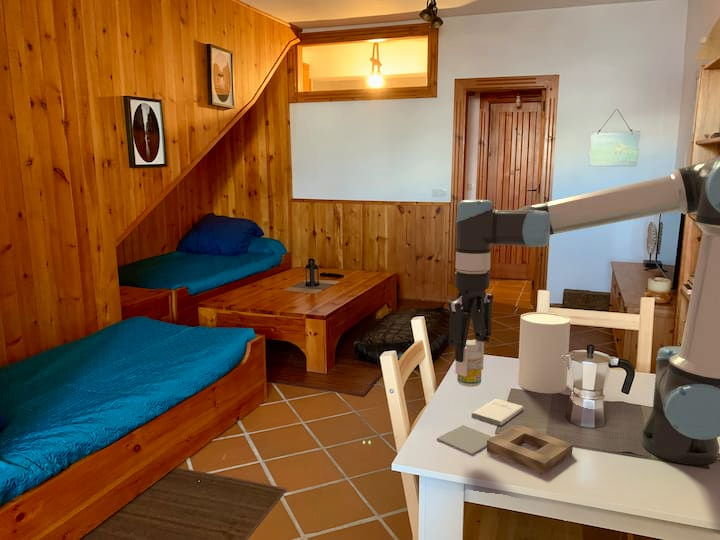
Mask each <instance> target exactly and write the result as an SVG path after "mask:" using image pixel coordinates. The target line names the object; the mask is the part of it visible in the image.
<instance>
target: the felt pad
mask: <svg viewBox="0 0 720 540" xmlns="http://www.w3.org/2000/svg"><path fill="white" fill-rule="evenodd" d="M492 437H493V435H492V436H491V435H489V434H487V433H485V432H481V431H480V430H476V429H474V428H471V427H469V426H467V425H464V424H462V425H460V426H458V427H455V428H454V429H452V430H451V431H448V432H447V433H444V434H442V435H440V436H438V437H437V438H436V440H437V441H438V442H441V443H443V444H445V445H448V446H450V447H452V448H454V449H457V450H459V451H461V452H464V453H466V454H469V456H470V455H471V456H473V455H476V454H477V453H478V452H481V451H482V450H484V449H485V448H486V449H487V440H488V439H490V438H492Z"/></svg>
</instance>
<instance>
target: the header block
mask: <svg viewBox="0 0 720 540" xmlns="http://www.w3.org/2000/svg"><path fill="white" fill-rule="evenodd" d="M523 444H524V445H527V446H530V447H533V448H536V449H537V450H535V451H533V450H531V449H528V448H526V447H523V446H522V445H523ZM573 445H574V444H573V443H570V442H568V441H565V440H562V439H559V438H557V437H553V436H550V435H548V434H545V433H542V432H540V431H537V430H535V429H532V428H529V427H526V426H523V425H520V424H517V423H515V424H513V425H511V426H510V427H508V428H507V429H504V430H503V431H501V432H499V433H498V434H496V435H494V436H492V438H490V439H488V440H487V447H486V452H488V453H491V454H494V455H496V456H498V457H501V458H503V459H504V460H505V459H506V460H508V461H509V462H512V463H514V464H518V465H520V466H522V467H524V468H527V469H529V470H532V471H534V472H536V473H538V474H541V475H546V474H547V473H549V472H550V471H551V470H553V469H554V468H556V467H557V466H559V465H560V464H562V463H563V462H564V461H565V460H567V459H568V458H570V457H571V456H572V455H573V449H574V448H573Z"/></svg>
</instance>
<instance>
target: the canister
mask: <svg viewBox="0 0 720 540" xmlns="http://www.w3.org/2000/svg"><path fill="white" fill-rule="evenodd" d="M519 320H520V322H519V323H520V324H519V325H520V326H519V345H518V348H519V349H518V372H517V373H518V374H517V384H518V385H519V387H521V388H523V389H524V390H527V391H530V392H533V393H540V394H558V393H562V392H564V391H565V390H566V389H567V382H568V368H567V365H566V363H565V362H564V360H563V359H562V357H561V356H562V355H564V354H567V353H568V354H569V349H570V335H571V334H570V333H571V332H570V330H571V318H570V317H568V316H566V315H563V314H559V313H553V312H548V311H546V312H545V311H544V312H543V311H538V312H537V311H535V312H534V311H533V312H527V313H523V314H521V315H520V319H519Z"/></svg>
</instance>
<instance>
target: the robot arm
mask: <svg viewBox="0 0 720 540" xmlns="http://www.w3.org/2000/svg"><path fill="white" fill-rule="evenodd" d="M456 209H457V210H456V220H455V230H456V231H455V263H454V264H455V269H456V271H455V272H454V287H455V288H456V289H457V290H458V294H457V296H456V300H455V301H449V302H448V304H447V305H448V311H449V321H448V324H449V326H448V345H449V346H452V347H454V361H455V370H454V371H455V372H454V373H455V375H457V374H459V375H462V376H467V367H468V348H467V347H465V346H466V341H467V340H468V335H469V330H470V327H471V326H470V324H471V320H472V328H473V334H474V339H473V340H474V341H477V342H479V349H478V350H479V351H480V352H481V354H482V370H484V360H485V359H484V358H485V355H484V353H485V342H487V343H488V342H489V341H490V337H491V336H492V308H493V307H492V306H493V301H494V294H490V293H486V290H488V289H489V288H490V281H491V280H490V278H491V277H490V276H491V275H490V274H491V273H490V269H491V255H492V254H491V251H492V250H491V248H492V247H491V246H492V245H493V246H494V245H495V246H498V245H499V246H500V245H501V246H515V247H517V246H518V247H528V248H534V247H546V246H548V244H549V242H550V236H552V235H557V234H561V233H567V232H573V231H577V230H584V229H588V228H594V227H599V226H605V225H609V224H615V223H620V222H625V221H630V220H638V219H642V218H647V217H652V216H658V215H665V214H668V213H673V212H679V213H681V214H683V215H689V214H695V213H696V217H695V223H694V224H695V225H696V226H697V227H698V228H699V229H700V231H701V232H702V234H701V241H700V245H699V250H698V256H697V261H696V266H695V272H694V277H693V282H692V287H691V293H690V297H689V302H688V307H687V313H686V319H685V324H684V329H683V334H682V339H681V345H680V346H674V345H673V346H672V345H671V346H663V347H660V348H659V349H658V351H657V356H656V358H655V361H656V368H655V369H656V370H655V379H654V390H653V400H652V401H653V403H652V411H651V413H650V415H649V416H648V419H647V421H646V423H645V425H644V427H643V429H642V431H641V440H640V441H641V445H642V446H643V447H644V448H645V449H646V450H647V451H648V452H650V453H651V454H653V455H655V456H657V457H660V458H661V459H665V460H667V461H672V462H674V463H679V464H685V465H691V466H692V465H693V466H694V465H697V466H699V465H700V466H702V465H709V464H713V463H715V462H716V461H718V459H719V458H720V457H719V456H720V443H719V441H718V438H719V437H720V155H718V156H715V157H713V158H710V159H707V160H704V161H702V162H698V163H696V164H693V165H688V166H685V167H681V168H676V169H675V170H674V171H673V172H672V174H671V175H667V176H662V177H661V176H660V177H658V178H653V179H648V180H643V181H639V182H634V183H629V184H625V185H624V184H623V185H620V186H615V187H612V188H606V189H601V190H597V191H593V192H588V193H583V194H577V195H574V196H569V197H565V198H559V199H556V200H550V201H546V202H541V203H536V204H532V205H531V204H528V205H524V206H521V207H520V208H517V209H501V210H500V209H495V208H494V207H493V202H492V201H491V200H488V199H464V200H460V201H459V202H458V204H457V207H456Z"/></svg>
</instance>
